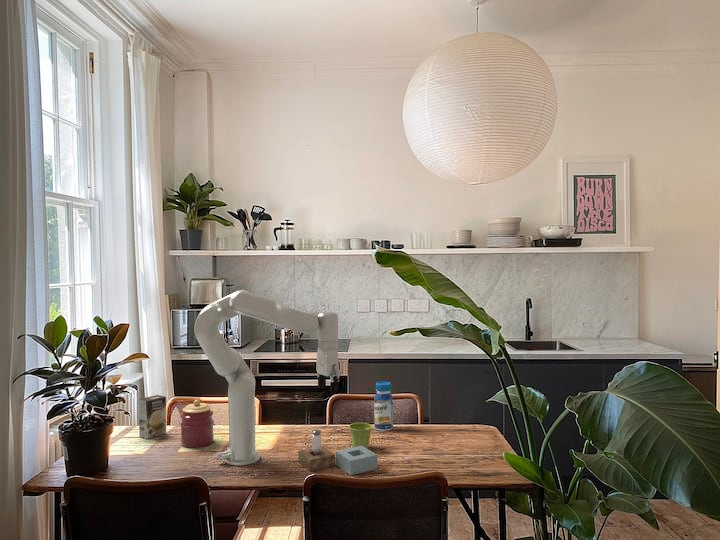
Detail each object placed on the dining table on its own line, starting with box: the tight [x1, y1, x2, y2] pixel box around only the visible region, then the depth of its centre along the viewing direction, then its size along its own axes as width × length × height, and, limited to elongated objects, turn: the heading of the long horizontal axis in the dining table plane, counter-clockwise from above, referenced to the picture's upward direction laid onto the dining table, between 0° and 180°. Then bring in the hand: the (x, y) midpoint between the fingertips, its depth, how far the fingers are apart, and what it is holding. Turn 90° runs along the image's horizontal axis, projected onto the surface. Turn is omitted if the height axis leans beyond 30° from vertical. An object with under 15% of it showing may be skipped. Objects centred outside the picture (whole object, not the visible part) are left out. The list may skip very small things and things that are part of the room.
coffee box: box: [138, 394, 167, 440], centre depth 232 cm, size 9×6×16 cm
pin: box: [311, 429, 322, 456], centre depth 198 cm, size 3×3×12 cm
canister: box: [179, 399, 215, 449], centre depth 222 cm, size 13×13×18 cm
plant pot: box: [348, 422, 373, 450], centre depth 214 cm, size 9×9×9 cm
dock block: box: [335, 446, 379, 476], centre depth 195 cm, size 11×11×5 cm
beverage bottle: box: [373, 381, 394, 432], centre depth 238 cm, size 8×8×20 cm
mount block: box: [298, 445, 336, 472], centre depth 198 cm, size 10×10×4 cm
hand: (328, 389), depth 207 cm, fingers open, 9 cm apart
